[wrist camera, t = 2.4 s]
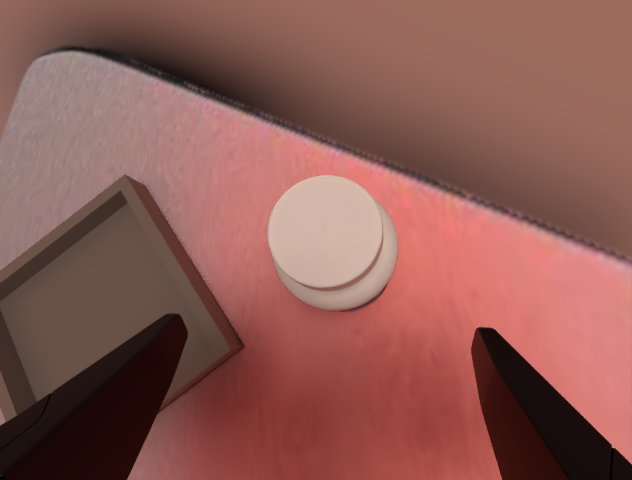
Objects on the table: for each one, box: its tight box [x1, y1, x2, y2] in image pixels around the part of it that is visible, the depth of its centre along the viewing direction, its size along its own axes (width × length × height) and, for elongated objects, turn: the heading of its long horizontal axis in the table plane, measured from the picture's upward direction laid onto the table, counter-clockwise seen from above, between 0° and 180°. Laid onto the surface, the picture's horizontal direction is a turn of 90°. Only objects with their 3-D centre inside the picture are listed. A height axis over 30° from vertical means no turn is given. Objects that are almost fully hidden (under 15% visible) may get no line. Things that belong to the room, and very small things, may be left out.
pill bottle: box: [268, 175, 398, 312], centre depth 16 cm, size 5×5×10 cm
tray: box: [0, 175, 244, 422], centre depth 21 cm, size 14×14×2 cm
